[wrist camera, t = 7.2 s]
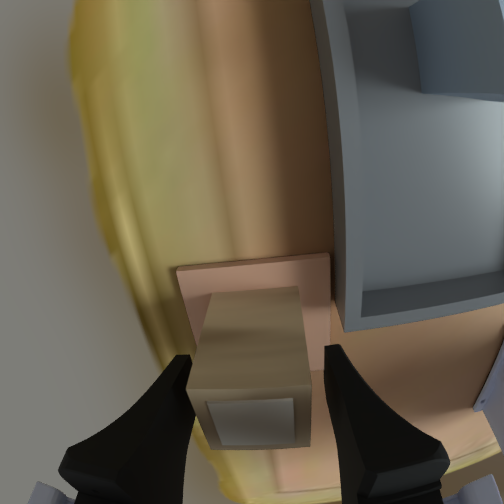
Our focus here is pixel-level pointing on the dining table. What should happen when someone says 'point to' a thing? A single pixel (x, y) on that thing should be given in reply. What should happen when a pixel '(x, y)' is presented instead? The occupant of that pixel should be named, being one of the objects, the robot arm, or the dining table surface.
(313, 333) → the terracotta pad
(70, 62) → the dining table surface
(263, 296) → the oak block
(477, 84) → the slate block
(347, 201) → the parts tray
